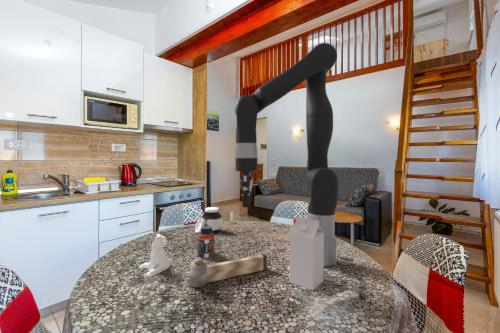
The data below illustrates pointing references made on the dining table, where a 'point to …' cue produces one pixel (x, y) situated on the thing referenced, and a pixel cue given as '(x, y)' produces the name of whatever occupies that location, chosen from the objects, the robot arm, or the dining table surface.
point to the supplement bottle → (206, 242)
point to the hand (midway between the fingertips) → (247, 204)
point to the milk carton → (306, 253)
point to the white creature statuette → (157, 257)
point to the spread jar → (210, 220)
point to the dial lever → (224, 269)
